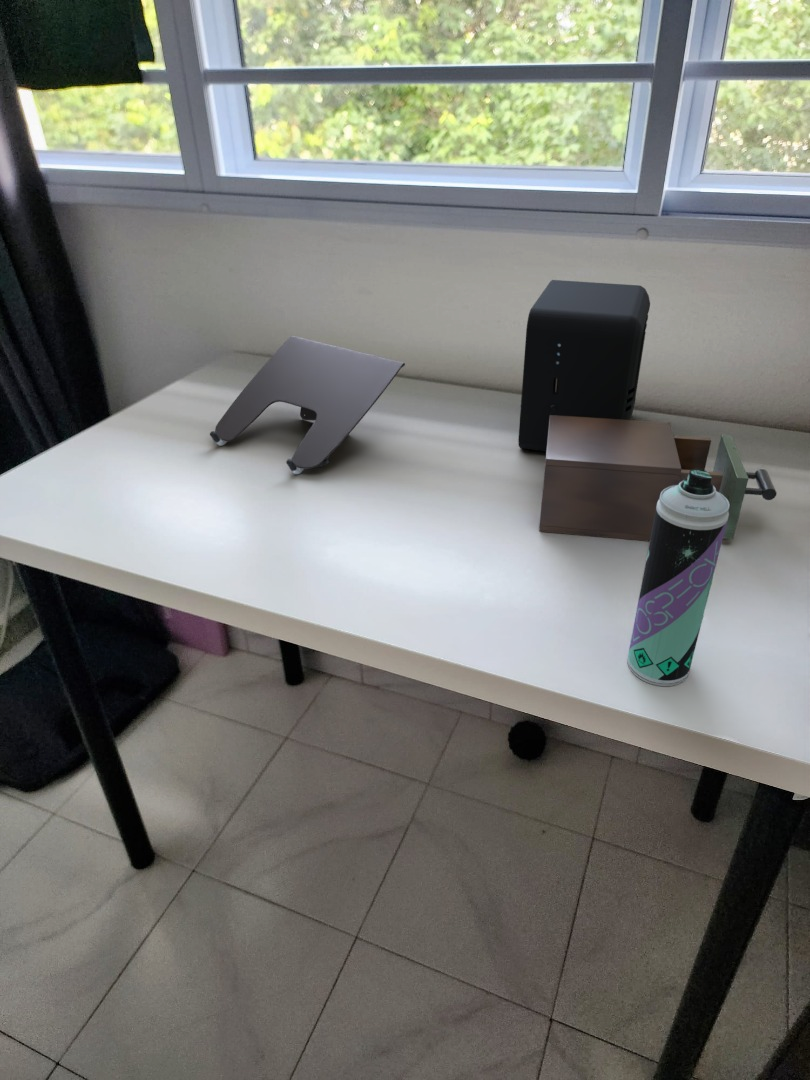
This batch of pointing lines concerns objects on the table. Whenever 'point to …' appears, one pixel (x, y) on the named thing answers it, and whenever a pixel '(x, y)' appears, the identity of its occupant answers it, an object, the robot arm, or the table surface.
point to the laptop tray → (312, 395)
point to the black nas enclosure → (581, 355)
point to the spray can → (677, 579)
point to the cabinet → (606, 476)
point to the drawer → (723, 473)
